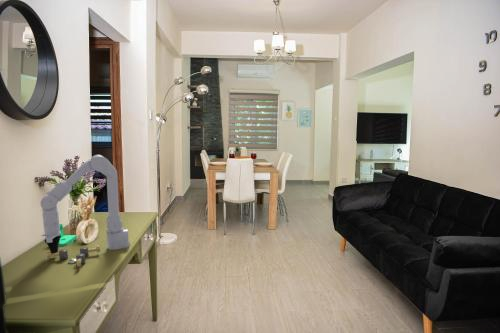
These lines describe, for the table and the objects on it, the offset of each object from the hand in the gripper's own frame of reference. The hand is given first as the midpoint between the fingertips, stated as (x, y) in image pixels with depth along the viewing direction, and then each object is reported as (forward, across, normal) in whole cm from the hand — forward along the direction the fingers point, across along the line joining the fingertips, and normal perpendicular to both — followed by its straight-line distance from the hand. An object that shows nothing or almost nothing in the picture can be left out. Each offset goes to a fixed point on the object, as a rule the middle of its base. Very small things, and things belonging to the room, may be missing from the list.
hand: (54, 253), depth 145 cm
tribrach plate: (+3, +9, +8) cm, 13 cm away
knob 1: (+1, +4, +2) cm, 5 cm away
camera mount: (+3, -20, 0) cm, 20 cm away
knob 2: (+1, +15, +12) cm, 19 cm away
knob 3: (+1, +5, +14) cm, 15 cm away
